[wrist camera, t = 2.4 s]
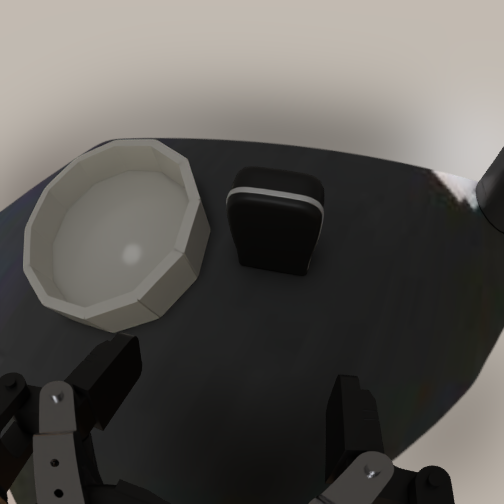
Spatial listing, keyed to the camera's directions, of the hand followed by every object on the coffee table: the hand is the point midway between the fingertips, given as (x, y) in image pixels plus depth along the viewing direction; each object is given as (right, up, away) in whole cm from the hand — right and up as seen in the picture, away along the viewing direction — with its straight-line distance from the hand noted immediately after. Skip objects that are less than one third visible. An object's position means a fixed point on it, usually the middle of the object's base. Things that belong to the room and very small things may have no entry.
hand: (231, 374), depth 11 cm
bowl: (-14, +6, +21) cm, 26 cm away
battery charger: (+3, +4, +19) cm, 20 cm away
